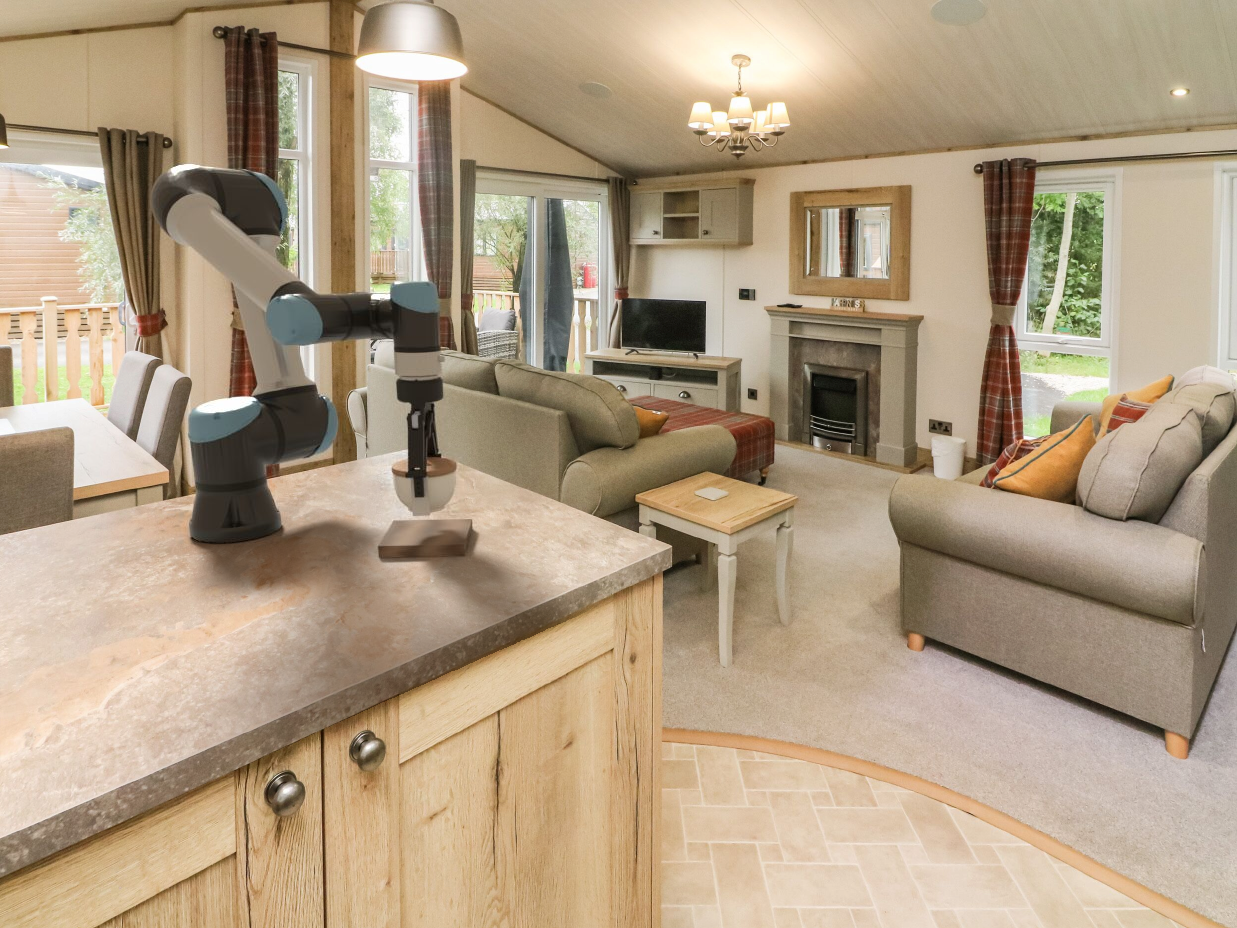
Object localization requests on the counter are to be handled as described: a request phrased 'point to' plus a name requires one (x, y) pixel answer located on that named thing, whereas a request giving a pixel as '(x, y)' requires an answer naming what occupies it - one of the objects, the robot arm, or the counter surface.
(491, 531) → the counter surface
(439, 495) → the lidded jar
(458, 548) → the walnut board
